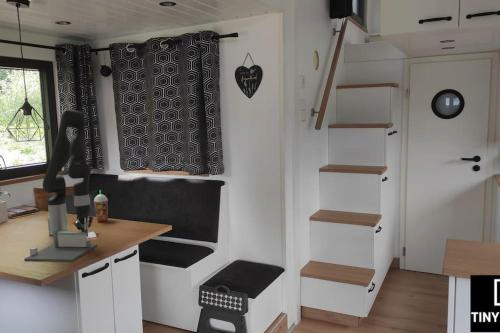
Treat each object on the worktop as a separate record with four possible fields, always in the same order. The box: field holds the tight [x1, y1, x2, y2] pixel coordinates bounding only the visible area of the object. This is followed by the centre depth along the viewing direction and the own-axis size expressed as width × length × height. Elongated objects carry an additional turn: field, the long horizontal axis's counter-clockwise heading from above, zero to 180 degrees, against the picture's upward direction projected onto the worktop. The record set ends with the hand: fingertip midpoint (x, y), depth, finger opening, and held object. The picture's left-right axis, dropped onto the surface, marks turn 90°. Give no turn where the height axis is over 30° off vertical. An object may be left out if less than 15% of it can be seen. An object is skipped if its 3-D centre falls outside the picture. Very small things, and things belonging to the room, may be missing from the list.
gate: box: [57, 231, 88, 247], centre depth 216 cm, size 15×2×7 cm, turn 82°
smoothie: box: [93, 189, 109, 223], centre depth 273 cm, size 8×8×20 cm
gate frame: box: [23, 230, 98, 263], centre depth 210 cm, size 25×23×10 cm
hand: (85, 237), depth 219 cm, fingers closed
